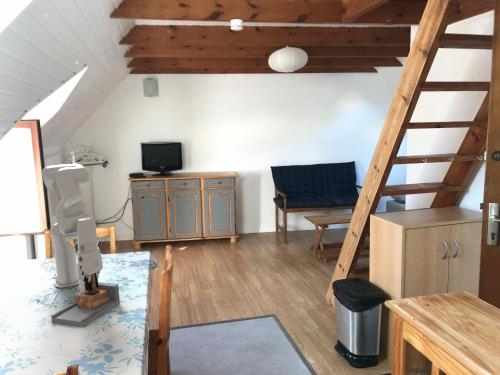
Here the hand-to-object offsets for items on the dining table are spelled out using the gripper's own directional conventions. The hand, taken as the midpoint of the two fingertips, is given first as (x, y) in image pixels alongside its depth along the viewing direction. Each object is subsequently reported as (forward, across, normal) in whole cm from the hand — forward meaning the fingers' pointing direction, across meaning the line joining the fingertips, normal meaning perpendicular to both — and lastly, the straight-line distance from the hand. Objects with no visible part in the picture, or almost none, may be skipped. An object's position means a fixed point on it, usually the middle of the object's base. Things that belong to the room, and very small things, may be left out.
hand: (92, 288), depth 175 cm
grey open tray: (+9, -4, 0) cm, 10 cm away
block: (+7, 0, 0) cm, 7 cm away
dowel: (+4, 0, 0) cm, 4 cm away
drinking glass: (+9, +11, +13) cm, 19 cm away
